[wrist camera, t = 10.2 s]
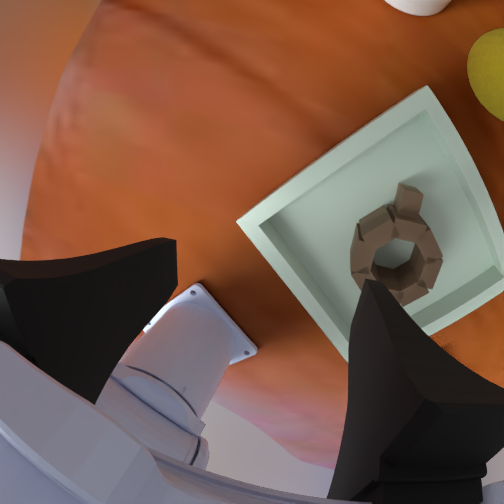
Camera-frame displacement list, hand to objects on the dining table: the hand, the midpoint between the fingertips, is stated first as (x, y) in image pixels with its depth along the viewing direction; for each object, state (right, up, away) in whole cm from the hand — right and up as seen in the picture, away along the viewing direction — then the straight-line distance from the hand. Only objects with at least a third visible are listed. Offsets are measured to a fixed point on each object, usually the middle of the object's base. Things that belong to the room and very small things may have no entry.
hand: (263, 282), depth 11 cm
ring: (+9, +1, +7) cm, 11 cm away
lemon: (+15, +12, +1) cm, 19 cm away
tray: (+9, +2, +8) cm, 12 cm away
